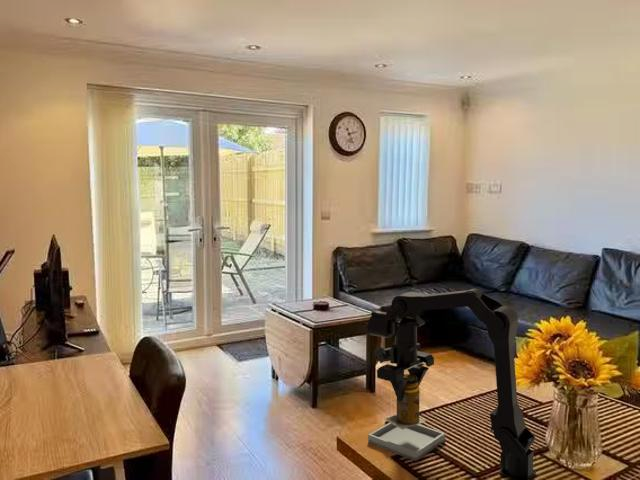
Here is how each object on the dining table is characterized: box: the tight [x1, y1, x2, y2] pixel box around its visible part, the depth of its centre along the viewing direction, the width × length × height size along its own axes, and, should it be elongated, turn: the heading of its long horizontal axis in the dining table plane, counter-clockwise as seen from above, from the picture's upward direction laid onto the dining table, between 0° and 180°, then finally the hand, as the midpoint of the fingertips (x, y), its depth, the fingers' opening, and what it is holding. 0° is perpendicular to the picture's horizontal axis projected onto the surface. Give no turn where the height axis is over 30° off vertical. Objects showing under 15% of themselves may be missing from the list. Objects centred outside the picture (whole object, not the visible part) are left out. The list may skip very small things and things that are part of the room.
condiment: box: [384, 373, 427, 430], centre depth 143 cm, size 7×8×12 cm
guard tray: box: [367, 422, 446, 462], centre depth 145 cm, size 15×14×2 cm
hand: (406, 397), depth 144 cm, fingers closed on condiment, 6 cm apart
